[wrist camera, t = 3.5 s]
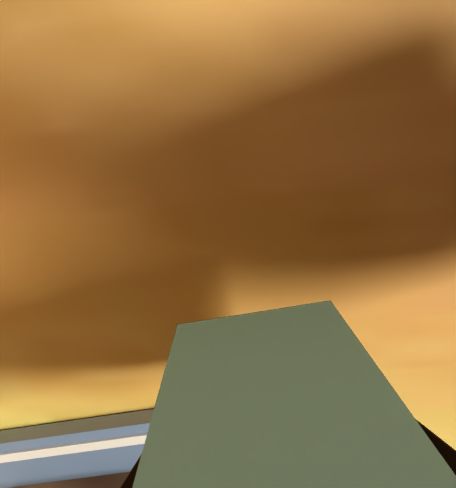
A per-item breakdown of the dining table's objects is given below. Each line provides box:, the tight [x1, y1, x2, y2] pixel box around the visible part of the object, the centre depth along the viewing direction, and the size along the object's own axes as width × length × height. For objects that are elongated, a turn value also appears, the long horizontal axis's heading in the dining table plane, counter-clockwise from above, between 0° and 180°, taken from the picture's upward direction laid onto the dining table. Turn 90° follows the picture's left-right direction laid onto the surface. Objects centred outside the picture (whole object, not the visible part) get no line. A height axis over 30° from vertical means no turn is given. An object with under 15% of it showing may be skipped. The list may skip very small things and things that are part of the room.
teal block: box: [132, 301, 456, 488], centre depth 6 cm, size 5×5×6 cm
